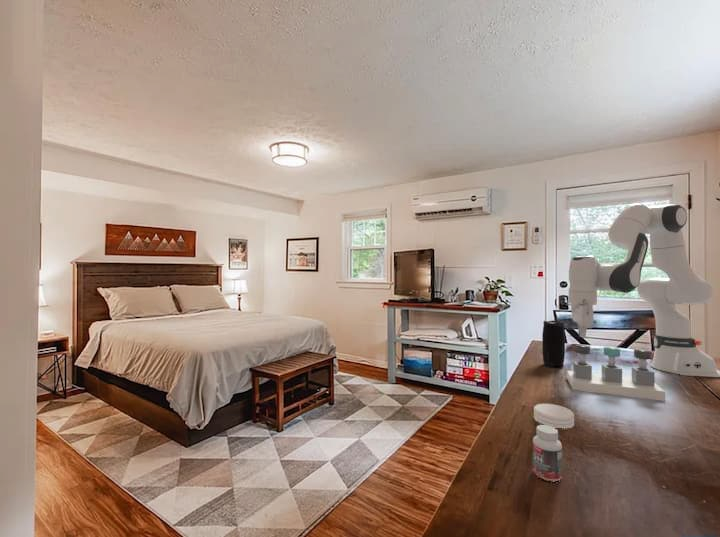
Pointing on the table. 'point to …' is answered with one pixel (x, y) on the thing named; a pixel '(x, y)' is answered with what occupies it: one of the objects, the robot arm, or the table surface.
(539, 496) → the table surface
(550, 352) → the portable speaker
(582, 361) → the far knob
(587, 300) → the robot arm
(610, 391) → the mount panel
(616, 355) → the teal dial
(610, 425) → the table surface
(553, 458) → the pill bottle
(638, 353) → the near knob
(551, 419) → the white jar lid
